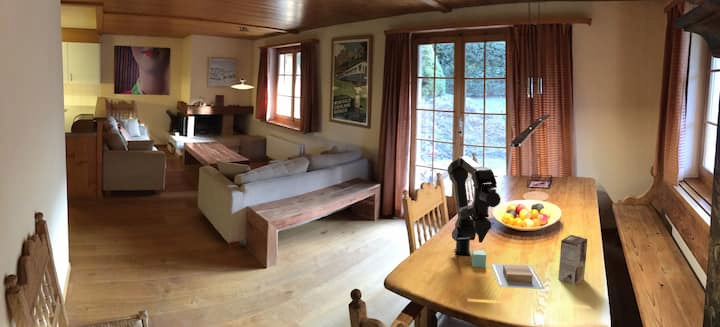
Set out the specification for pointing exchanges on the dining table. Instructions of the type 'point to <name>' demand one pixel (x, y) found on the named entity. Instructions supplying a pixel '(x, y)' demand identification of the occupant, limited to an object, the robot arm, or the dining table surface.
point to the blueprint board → (503, 283)
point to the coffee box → (572, 259)
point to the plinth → (517, 273)
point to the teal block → (478, 258)
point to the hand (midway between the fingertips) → (479, 238)
